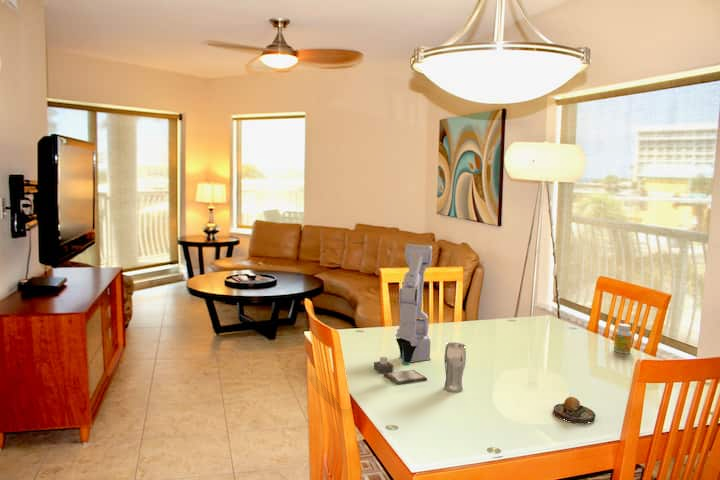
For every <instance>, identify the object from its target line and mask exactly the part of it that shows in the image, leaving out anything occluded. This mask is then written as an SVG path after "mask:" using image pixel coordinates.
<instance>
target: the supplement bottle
mask: <svg viewBox="0 0 720 480" xmlns="http://www.w3.org/2000/svg"><path fill="white" fill-rule="evenodd" d="M630 330H631V324H627V323H618V325H617V329H616V330H615V333H614V346H613V351H614V352H616V353H619V354H630V352H631V350H632V349H631V348H632V340H633V339H632V338H633V333H632V331H630Z"/></svg>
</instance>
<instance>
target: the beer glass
mask: <svg viewBox="0 0 720 480" xmlns="http://www.w3.org/2000/svg"><path fill="white" fill-rule="evenodd" d="M443 358H444V359H443V360H444V370H445V382H444V386H443V389H444V390H445V391H447V392H450V393H461V392H462V391H464V390H463V389H464V388H463V375H464V371H465V367H466V359H467V345H465V344H464V343H462V342H447V343H445V348H444V357H443Z"/></svg>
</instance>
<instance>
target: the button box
mask: <svg viewBox="0 0 720 480" xmlns="http://www.w3.org/2000/svg"><path fill="white" fill-rule="evenodd" d="M373 370H374V371H376V372H377V373H379V374H382V375H383V374H386V373H393V372H394V364H392V363H391V362H389V361H388V363H387V365H382V366H381V365H380V360H379V361H374V362H373Z"/></svg>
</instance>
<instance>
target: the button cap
mask: <svg viewBox="0 0 720 480" xmlns="http://www.w3.org/2000/svg"><path fill="white" fill-rule="evenodd" d="M388 359H389V358H388V357H387V356H381V357H379V361H380V365H381V366H382V365H387V363H388V362H389V361H388Z"/></svg>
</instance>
